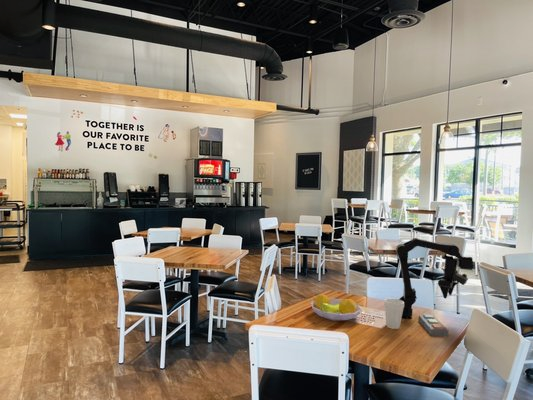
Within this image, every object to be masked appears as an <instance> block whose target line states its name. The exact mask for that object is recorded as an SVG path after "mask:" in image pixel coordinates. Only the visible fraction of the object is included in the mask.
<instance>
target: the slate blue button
mask: <svg viewBox="0 0 533 400" xmlns="http://www.w3.org/2000/svg"><path fill="white" fill-rule="evenodd" d="M433 316H434V315H432V314H428V313H423V317H424V318H425V319H434V317H433Z"/></svg>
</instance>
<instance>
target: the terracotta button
mask: <svg viewBox="0 0 533 400" xmlns="http://www.w3.org/2000/svg"><path fill="white" fill-rule="evenodd" d="M432 327H433V328H434V329H442V330H443V326H442V325H441V324H432Z"/></svg>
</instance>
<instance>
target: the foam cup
mask: <svg viewBox="0 0 533 400" xmlns="http://www.w3.org/2000/svg"><path fill="white" fill-rule="evenodd" d="M383 302H384V310H385V311H384V313H385V314H384V315H385V325H387V326H386V327H387V328H389V329H393V330H398V329H400V327H401V321H402V319H403V318H402V313H403V308H404V302H403V301H401V300H399V299H397V298H391V297H390V298H385V299H384V300H383Z"/></svg>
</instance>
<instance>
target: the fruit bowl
mask: <svg viewBox="0 0 533 400" xmlns="http://www.w3.org/2000/svg"><path fill="white" fill-rule="evenodd" d="M311 307H312V310H313V312H314V313H316V314H317V315H318V316H319V317H322V318H324V319H328V320H329V321H333V322H335V321H336V322H337V321H347V320H351V319H355V318H357V317H358V316H359V314H361V311H362V308H361V307H360V305H359V304H358V303H356V302H355V300H353V299H351V298H350V299H349V298H344V299H341V298H332V297H330V298H329V297H328V296H327V295H326V294H318V295H317V296H315V298H314V300H312V301H311ZM340 313H341V314H340Z"/></svg>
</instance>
